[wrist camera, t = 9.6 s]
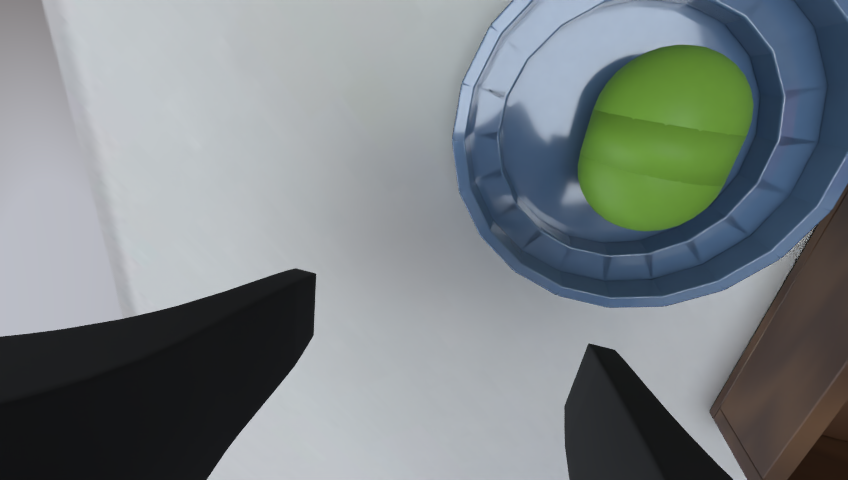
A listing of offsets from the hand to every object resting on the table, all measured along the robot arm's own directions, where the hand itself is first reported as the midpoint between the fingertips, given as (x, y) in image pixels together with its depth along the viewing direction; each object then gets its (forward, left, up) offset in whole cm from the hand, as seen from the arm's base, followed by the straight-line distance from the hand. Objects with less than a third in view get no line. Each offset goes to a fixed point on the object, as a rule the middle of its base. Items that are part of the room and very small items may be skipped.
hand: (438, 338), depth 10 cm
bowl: (+5, -5, -10) cm, 13 cm away
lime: (+5, -6, -8) cm, 11 cm away
